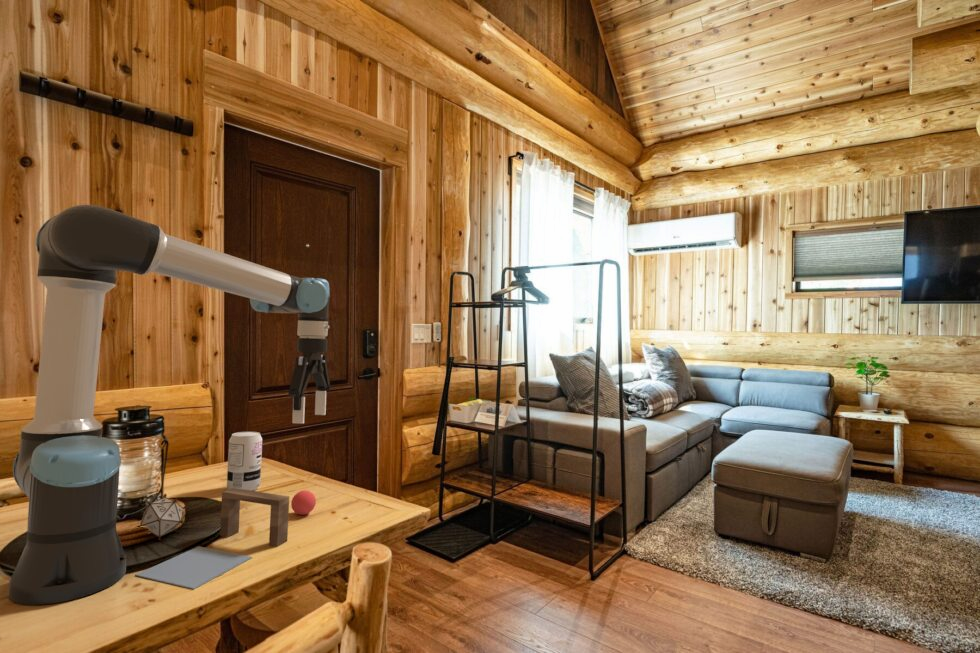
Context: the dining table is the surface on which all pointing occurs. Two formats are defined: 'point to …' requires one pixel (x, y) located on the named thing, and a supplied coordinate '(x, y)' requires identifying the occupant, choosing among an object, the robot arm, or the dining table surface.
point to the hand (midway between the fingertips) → (309, 418)
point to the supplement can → (244, 461)
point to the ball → (303, 502)
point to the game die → (162, 516)
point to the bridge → (277, 502)
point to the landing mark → (194, 567)
